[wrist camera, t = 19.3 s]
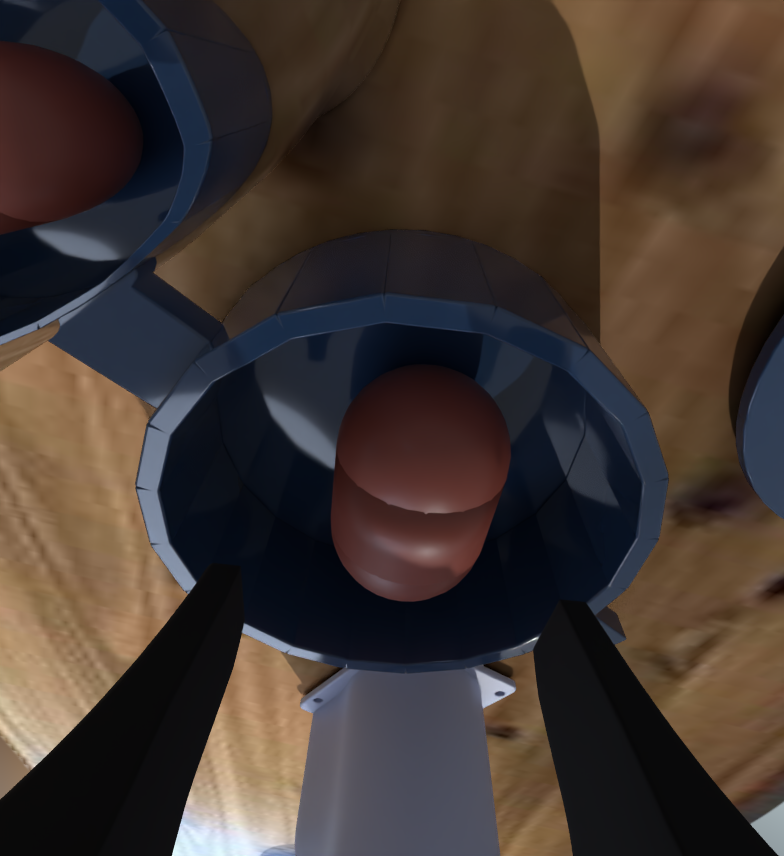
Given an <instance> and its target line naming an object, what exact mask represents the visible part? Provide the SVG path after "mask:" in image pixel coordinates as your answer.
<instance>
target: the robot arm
mask: <svg viewBox="0 0 784 856" xmlns="http://www.w3.org/2000/svg"><path fill="white" fill-rule="evenodd" d="M244 622H245V614H244V601H243V588H242V575H241V566H238V565H228V564H219V563H212V564H210V565H208V567H207V568H206V570H205V571H204V573H203V574H202V576H201V577H200V578H199V580H198V581H197V583H196V584H195V586H194V587H193V588H192V590H191V591H190V593H189V594H188V595H187V597H186V598H185V599H184V601H183V602H182V603H181V605H180V606H179V607H178V609H177V610H176V611H175V613H174V614H173V615H172V616H171V618H170V619H169V620H168V622H167V623H166V624H165V625H164V627H163V628H162V629H161V630H160V632H159V633H158V634H157V635H156V636H155V638H154V639H153V640H152V641H151V643H150V644H149V645H148V646H147V648H146V649H145V650H144V651H143V652H142V654H141V655H140V656H139V657H138V658H137V660H136V661H135V662H134V663H133V664H132V665H131V667H130V668H129V669H128V670H127V671H126V672H125V673H124V674H123V676H122V677H121V678H120V679H119V680H118V681H117V682H116V683H115V684H114V686H113V687H112V688H111V689H110V690H109V691H108V692H107V693H106V695H105V696H104V697H103V698H102V699H101V700H100V701H99V702H98V703H97V705H96V706H95V707H94V708H93V709H92V710H91V711H90V712H89V713H88V714H87V715H86V716H85V717H84V718H83V719H82V720H81V721H80V722H79V724H78V725H77V726H76V727H75V728H74V729H73V730H72V731H71V732H70V733H69V734H68V735H67V736H66V737H65V738H64V739H63V740H62V741H61V742H60V743H59V744H58V745H57V746H56V747H55V748H54V749H53V750H52V751H51V752H50V753H49V754H48V755H47V756H46V757H45V758H44V759H43V760H42V761H41V762H40V763H38V764H37V765H36V766H35V767H34V768H33V769H32V770H31V771H30V772H29V773H28V774H27V775H26V776H25V777H24V778H23V779H22V780H21V781H19V782H18V783H17V784H16V785H15V786H14V787H13V788H12V789H11V790H10V791H9V792H8V793H7V794H6V795H5V796H4V797H2V798H1V799H0V856H172V853H173V849H174V845H175V841H176V838H177V834H178V830H179V827H180V823H181V819H182V816H183V812H184V808H185V805H186V801H187V798H188V795H189V792H190V789H191V786H192V783H193V779H194V777H195V774H196V771H197V768H198V765H199V763H200V760H201V757H202V754H203V751H204V749H205V746H206V743H207V740H208V737H209V735H210V732H211V729H212V726H213V723H214V721H215V718H216V715H217V712H218V709H219V707H220V704H221V701H222V698H223V695H224V693H225V690H226V687H227V684H228V681H229V678H230V675H231V673H232V670H233V667H234V663H235V659H236V655H237V651H238V647H239V643H240V639H241V635H242V630H243V626H244ZM533 653H534V663H535V672H536V680H537V688H538V696H539V700H540V705H541V709H542V714H543V718H544V723H545V727H546V731H547V736H548V740H549V744H550V748H551V753H552V757H553V761H554V765H555V770H556V774H557V778H558V782H559V786H560V791H561V795H562V799H563V803H564V808H565V813H566V818H567V823H568V828H569V833H570V839H571V845H572V852H573V856H778V855H777V854H776V853H775V852H774V850H773V849H772V848H771V847H770V846H769V845H768V844H767V843H766V842H765V840H764V839H763V838H762V837H761V836H760V835H759V834H758V833H757V831H756V830H755V829H754V828H753V827H752V826H751V825H750V824H749V822H748V821H747V820H746V819H745V818H744V817H743V816H742V814H741V813H740V812H739V811H738V810H737V808H736V807H735V806H734V805H733V804H732V803H731V801H730V800H729V799H728V798H727V797H726V795H725V794H724V793H723V792H722V791H721V790H720V788H719V787H718V786H717V785H716V783H715V782H714V781H713V780H712V778H711V777H710V776H709V775H708V774H707V772H706V771H705V770H704V768H703V767H702V766H701V765H700V763H699V762H698V761H697V760H696V758H695V757H694V756H693V754H692V753H691V752H690V751H689V749H688V748H687V747H686V745H685V744H684V743H683V741H682V740H681V739H680V737H679V736H678V735H677V734H676V732H675V731H674V730H673V728H672V727H671V725H670V724H669V723H668V721H667V720H666V719H665V717H664V716H663V715H662V713H661V712H660V710H659V709H658V708H657V706H656V705H655V703H654V702H653V701H652V699H651V698H650V696H649V695H648V693H647V692H646V691H645V689H644V688H643V686H642V685H641V684H640V682H639V681H638V679H637V678H636V676H635V675H634V673H633V672H632V670H631V669H630V668H629V666H628V665H627V663H626V662H625V660H624V659H623V657H622V656H621V654H620V653H619V651H618V650H617V648H616V647H615V645H614V644H613V642H612V641H611V639H610V638H609V636H608V635H607V633H606V632H605V630H604V628H603V627H602V625H601V624H600V622H599V621H598V619H597V618H596V616H595V615H594V613H593V612H592V610H591V609H590V607H589V606H588V604H587V603H586V602H581V601H571V600H562V599H560V600H559V601H558V603H557V605H556V607H555V609H554V611H553V613H552V614H551V616H550V618H549V620H548V622H547V624H546V626H545V627H544V629H543V631H542V633H541V635H540V637H539V639H538V640H537V642H536V644H535V646H534V648H533ZM515 690H516V685H515V681H513V680H512V679H510V678H508V677H506V676H504V675H502V674H499V673H497V672H495V671H493V670H491V669H489V668H487V667H484V666H482V665H481V666H477V667H473V668H466V669H461V670H448V671H436V672H423V673H411V674H407V673H405V674H400V673H389V672H377V671H365V670H353V669H346V668H343V669H342V670H340V671H339V672H337V673H336V674H335V675H333V676H332V677H330V678H329V679H328V680H326V681H325V682H324V683H322V684H321V685H319V686H318V687H317V688H315V689H314V690H312V691H311V692H310V693H308V694H307V695H305V696H304V697H303V698H302V699H301V702H300V707H301V708H302V709H303V710H306V711H308V712H311V713H313V718H312V725H311V732H310V738H309V745H308V752H307V758H306V765H305V771H304V778H303V785H302V791H301V798H300V805H299V811H298V818H297V825H296V833H295V855H296V856H500V849H499V841H498V832H497V824H496V815H495V807H494V798H493V790H492V781H491V773H490V764H489V756H488V748H487V739H486V731H485V722H484V714H483V708H485V707H487V706H489V705H490V704H492V703H494V702H496V701H498V700H500V699H502V698H504V697H506V696H508V695H510V694H512V693H513V692H515Z"/></svg>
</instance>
